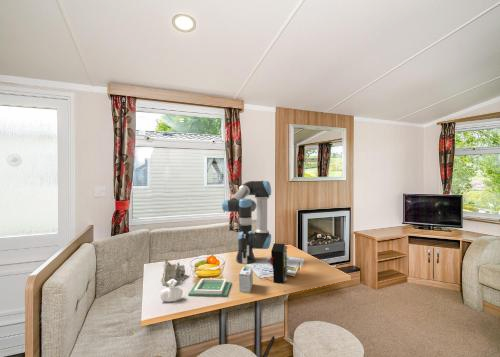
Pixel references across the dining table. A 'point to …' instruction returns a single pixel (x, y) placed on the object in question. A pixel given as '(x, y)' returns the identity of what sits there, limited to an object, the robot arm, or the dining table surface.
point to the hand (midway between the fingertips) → (245, 259)
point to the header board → (211, 288)
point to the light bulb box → (245, 279)
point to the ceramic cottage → (172, 273)
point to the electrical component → (279, 262)
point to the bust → (171, 292)
